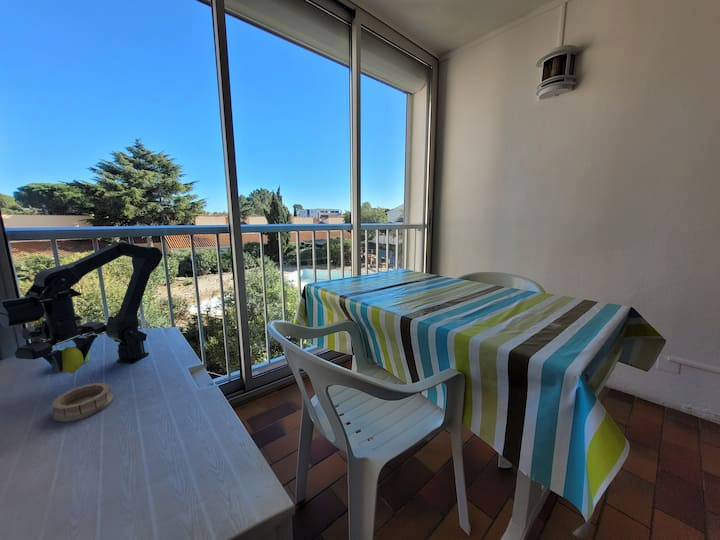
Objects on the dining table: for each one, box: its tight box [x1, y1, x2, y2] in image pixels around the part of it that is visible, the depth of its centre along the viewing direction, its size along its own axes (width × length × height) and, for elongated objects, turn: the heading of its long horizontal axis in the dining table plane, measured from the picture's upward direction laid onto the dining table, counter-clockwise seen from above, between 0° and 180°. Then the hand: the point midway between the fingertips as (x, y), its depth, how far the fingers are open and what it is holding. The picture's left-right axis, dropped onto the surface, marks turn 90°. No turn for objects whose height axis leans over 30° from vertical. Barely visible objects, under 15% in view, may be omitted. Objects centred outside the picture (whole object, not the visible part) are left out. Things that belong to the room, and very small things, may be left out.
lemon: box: [61, 346, 84, 374], centre depth 81 cm, size 6×6×8 cm
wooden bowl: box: [51, 382, 114, 423], centre depth 72 cm, size 11×11×3 cm
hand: (71, 366), depth 82 cm, fingers closed on lemon, 5 cm apart
